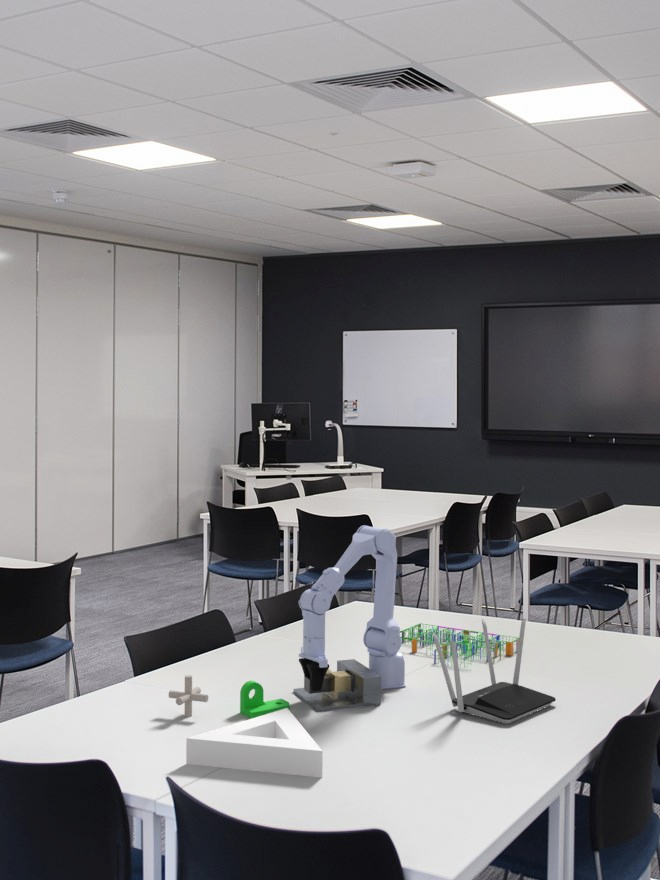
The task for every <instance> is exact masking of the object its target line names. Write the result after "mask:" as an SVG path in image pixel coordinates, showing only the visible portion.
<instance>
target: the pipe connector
mask: <svg viewBox="0 0 660 880" xmlns="http://www.w3.org/2000/svg"><path fill="white" fill-rule="evenodd" d="M201 692H202V690H201V687H200V686H196V687H194V688H193V675H191V674H190V675H189V674H186V675H184V691H179V690H177V691H176V690H169V692H168V698H169V699H175V703H176V705H177V706H182V705H183V704H184V717H185V718H190V717H192V716H193V701H194V702H199V703H200V702H202V703H208V701H209V694H203V693H201Z"/></svg>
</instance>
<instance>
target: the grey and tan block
mask: <svg viewBox="0 0 660 880" xmlns="http://www.w3.org/2000/svg"><path fill="white" fill-rule="evenodd" d="M303 688H304V690H305V691H306V692H308V693H309V694H313V693H322V692H326V693H328V694H329V695H330V696H332V697H333V698H334V699H338V692H345V691H351V675H350V674H348V673H347V672H345V671H337V670H336V671H332V670H331V669H328V670H327V672H326V674H325V677H324V680H323V684H322V688H321V691H313V690H312V685H311V677H310V675H309V676H304V675H303Z"/></svg>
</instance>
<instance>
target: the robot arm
mask: <svg viewBox="0 0 660 880" xmlns="http://www.w3.org/2000/svg"><path fill="white" fill-rule="evenodd" d="M396 541H397V536H396V535H395V534H394V533H393V532H392V530H390V529H389V528H380V527H376V526H369V525H367V524H366V525H365V524H364V525H360V527H358V528H357V530H356V532H355V533H354V534H353V535H352V540H351V543H350V544H349V545H348V547H347V548H346V550H345V551H344V553H343V554H342V555H341V557H340V558H339V559H338V561H337V563H336V564H335V565H334V566H333V567H327V568H326V569H324V570H323V571H322V574H321V575H320V577H319V578H318V580H317V581H315V583H313V584H312V585H311V588H308V589H306V590H305V591H303V592H302V594H301V595H300V597H299V600H298V606H299V608H300V609H301V616H302V620H303V621H302V622H303V623H302V625H303V627H302V629H303V630H302V634H303V635H302V636H303V637H302V646H301V647H300V653H298V657H299V659H298V662H299V664H300V666H301V669H302V671H303V677H304V676H309V675H310V677H311V685H312V690H313V691H321V688H322V684H323V680H324V677H325V674H326V672H327V670H328V669H329V668H330V664H328V663H329V661H328V659H327V653H326V612H328V611H329V610H330V608H331V603H332V600H333V597H334V596H335V594H336V593H337V592H338V591H339V590H340V588H341V587H342V585H344V583H345V582H346V581H345V575H346V574H347V573H348V572H349V571H350V570H351V569H352V567H354V566H355V564H357V563H358V562H359V560H360V559H361V558H362V557H363V556H368V555H369V556H370V555H371V556H372V557H373V558H374V559H375V560H376V568H375V585H374V586H375V587H374V599H373V600H374V601H373V614H372V615H373V616H372V618H371V619H369V620H368V621H367V622H366V629H365V631H364V633H363V638H362V641H363V644H364V646H365V648H367V652H368V668H369V669H370V670H372V671H374V672H375V673H377V674H378V675H380V676H381V690H387V689H388V690H389V689H397V688H398V689H399V688H405V687H406V684H405V674H406V673H405V671H406V670H405V668H406V666H405V662H406V661H405V658H404V655H403V654H402V652H400V649H401V647H402V638H401V637H402V636H401V634H400V631H401V628H400V626H399V624H397V621H396V620H395V619H394V609H395V594H396V582H397V581H396V579H397V566H398V565H397V564H398V551H397V548H396ZM329 670H330V669H329Z"/></svg>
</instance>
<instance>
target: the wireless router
mask: <svg viewBox="0 0 660 880" xmlns="http://www.w3.org/2000/svg"><path fill="white" fill-rule="evenodd" d="M526 621H527V619H526V618H523V619H522V620H521V622H520V627H519V629H520V630H519V636H518V638H519V642H518V649H517V650H516V651H517V652H516V658H515V665H514V672H513V677H512V683H510V682H507V681H499V682H497V680H496V673H495V668H494V662H493V658H492V657H493V655H492V651H491V649H490V644H489V639H490V637H488V636H489V634H488V633H489V632H488V627H487V622H486V621H485V620H484V618H481V624H482V630H483V632H484V638H485V647H486V648H485V652H486V651H487V652H486V653H487V657H488V661H487V664H488V669H489V675H490V683H491V685H488V686H485V687H483V688H481V689H476V690H474V691H472V692H470V693H467V694H464V695H463V690H462V683H461V674H460V667H459V666H460V665H459V659H458V658H459V657H458V658H457V653H458V649H457V650H456V643H457V642H456V643H455V642H454V641H453V640H452V639H450V642H451V647H452V655H451V658H452V667H453V673H454V675H453V676H454V683H455V685H454V686H455V690H454V687H453V682H452V679H451V676H450V673H449V670H448V667H447V666H448V665H447V662H445V661H446V660H445V659H446V658H444V656H443V653H442V649H441V646H442V645H440V639H438V636H437V635H436V634H435V633H434V632H432V637H434V642H435V644H434V645H435V647H436V648H435V649H437V650H436V652H437V655H439V658H440V659H439V663H440V664H441V668H442V672H443V675H444V680H445V683H446V687H447V689H448V693H449V697H450V700H451V701H450V702H451V704H452V707H453V708H455V707H457V711H458V713H462V712H466V713H470V714H474V715H476V716H475V717H477V716H481V717H484V718H483V719H485V718H487V719H486V720H489V719H491V720H490V721H492V720H494V721H493V722H496V721H498V722H497V723H500V722H502V723H501V724H504V723H505V724H504V725H508V724H511V723H513V721H514V722H515V720H516V721H518V720H521V719H523V718H525V717H527V716H526V715H528V714H530V713H532V714H534V713H533V712H535V711H537V710H539V711H541V710H540V709H542V708H544V707H546V708H548V707H547V706H549V705H550V706H551V704H552V703H553V702H556V697H554V696H552V695H549V694H546V693H544V692H543V693H542V692H541V691H537V690H534V689H532V688H528V687H525V686H523V685H519V680H520V674H521V665H522V657H523V656H522V655H523V646H524V638H525V630H526ZM550 706H549V707H550ZM544 709H545V708H544ZM542 710H543V709H542ZM537 712H538V711H537ZM466 713H465V714H466ZM535 713H536V712H535ZM470 714H469V715H470ZM474 715H473V716H474ZM530 715H531V714H530ZM524 716H525V717H524ZM528 716H529V715H528ZM481 717H480V718H481ZM522 717H523V718H522ZM520 718H521V719H520ZM517 719H518V720H517Z"/></svg>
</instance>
